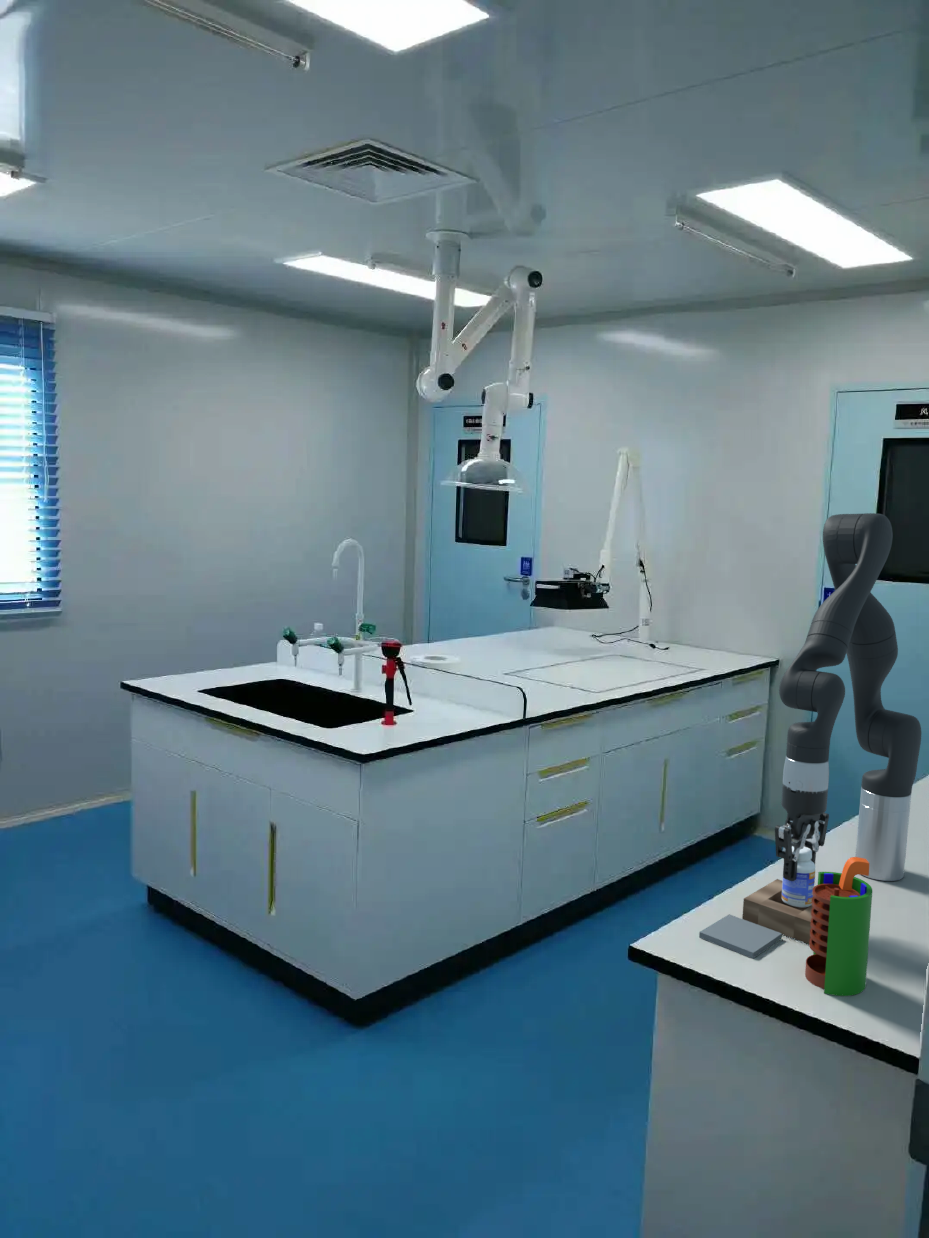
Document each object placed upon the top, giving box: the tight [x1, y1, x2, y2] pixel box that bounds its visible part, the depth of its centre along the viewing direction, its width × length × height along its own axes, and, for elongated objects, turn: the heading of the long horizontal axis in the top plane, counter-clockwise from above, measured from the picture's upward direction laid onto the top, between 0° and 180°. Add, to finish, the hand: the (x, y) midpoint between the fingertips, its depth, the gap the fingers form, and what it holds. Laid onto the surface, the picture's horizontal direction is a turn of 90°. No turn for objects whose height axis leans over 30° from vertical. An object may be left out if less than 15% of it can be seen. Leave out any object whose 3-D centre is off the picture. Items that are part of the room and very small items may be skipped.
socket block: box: [741, 878, 813, 945], centre depth 172 cm, size 13×13×4 cm
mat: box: [698, 913, 783, 959], centre depth 165 cm, size 10×10×1 cm
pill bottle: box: [782, 846, 816, 908], centre depth 170 cm, size 5×5×10 cm
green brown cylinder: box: [804, 856, 873, 997], centre depth 150 cm, size 10×9×20 cm
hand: (798, 874), depth 170 cm, fingers closed on pill bottle, 5 cm apart
